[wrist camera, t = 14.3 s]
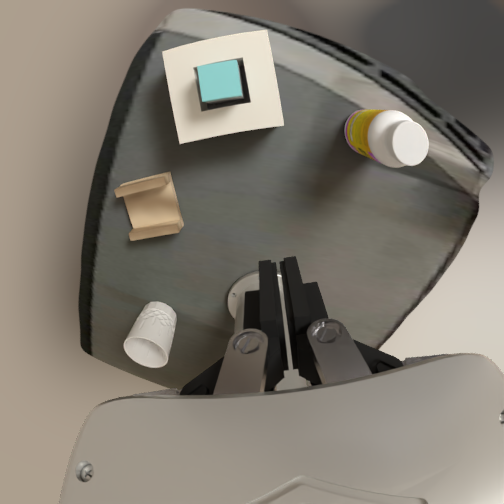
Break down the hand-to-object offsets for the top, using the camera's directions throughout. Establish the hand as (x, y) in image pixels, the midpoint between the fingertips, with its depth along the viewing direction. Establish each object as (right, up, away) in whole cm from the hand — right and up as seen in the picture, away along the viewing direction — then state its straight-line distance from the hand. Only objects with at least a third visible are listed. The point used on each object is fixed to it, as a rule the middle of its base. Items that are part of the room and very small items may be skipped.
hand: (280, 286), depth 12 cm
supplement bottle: (+14, +18, +21) cm, 31 cm away
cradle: (-16, +9, +26) cm, 32 cm away
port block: (-5, +23, +18) cm, 30 cm away
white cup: (-19, -10, +37) cm, 42 cm away
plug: (-5, +22, +18) cm, 29 cm away
